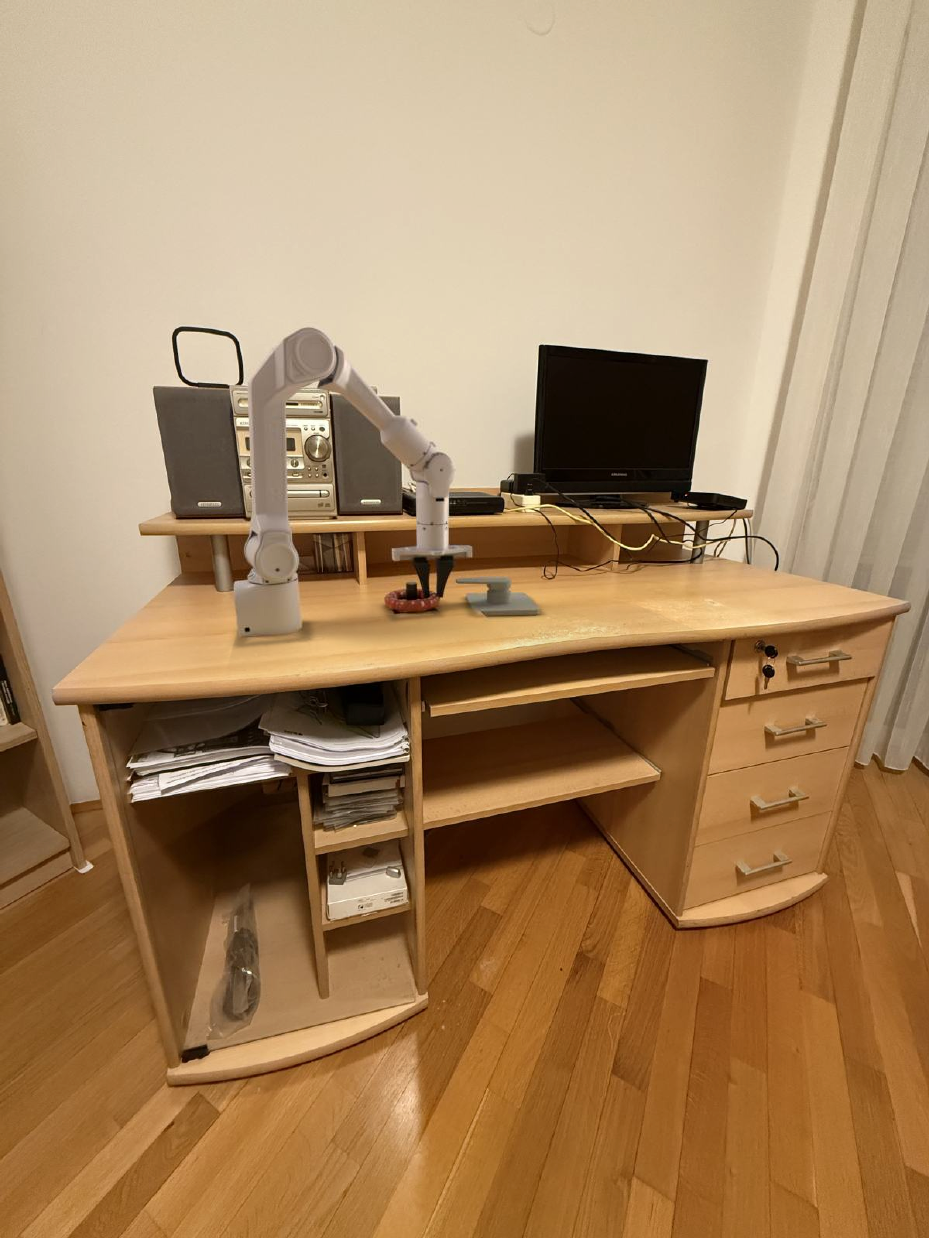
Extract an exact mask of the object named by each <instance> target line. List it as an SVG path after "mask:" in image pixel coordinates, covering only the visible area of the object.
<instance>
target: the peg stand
mask: <svg viewBox="0 0 929 1238" xmlns="http://www.w3.org/2000/svg"><path fill="white" fill-rule="evenodd" d="M405 589H406V600H422V599H417V589H418V582H415V581H408V582H406V583H405ZM391 611H392V613H393V614H394V615H400V614H414V613H426V612H437V611H439V609H438V608H437V606H436V607H435V608H432V609H428V610H425V611H416V612H406V611H397V610H394V609H391Z"/></svg>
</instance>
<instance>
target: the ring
mask: <svg viewBox="0 0 929 1238" xmlns="http://www.w3.org/2000/svg"><path fill="white" fill-rule="evenodd" d="M417 599H422V600H406V588H401V589H396V590H393V591H390V592H389V593H387V594H386V595H385V596H384V599H383V602H384V604H385V605H386V607H387V608H388V609H391V610H392V609H394V610H397V611H406V612H414V613H417V612H416V611H425V610H428V609H432V608H435V607H436V608H437V606H438V605H439V604H440V602H441V598H440V597H439V595H437V593H436V591H435V590H430V596H429V598H426V599H425V598H424V597H423V592H422V588H417Z"/></svg>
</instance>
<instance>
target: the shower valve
mask: <svg viewBox="0 0 929 1238" xmlns="http://www.w3.org/2000/svg"><path fill="white" fill-rule="evenodd" d="M455 583H456V584H458V585H486V588H488V589H487V591H486V592H468V593H466V594H465V601H467V602H468V603H469V604H470V606H471V608H472V610H473V611H475V612H480V613H481V614H482V615H484V616H485V617H496V616H532V615H533V616H535V615H539V614H540V607H539V606H538V605H537V604H536V602H534V601H533V600H532V598H531V597H530V596H529V595H528V594H527V593H526V592H523V591H522V592H521V591H520V592H519V591H518V592H517V591H515V592H514V591H513V592H511V590H510V589H511V588H512V579H511V578H510V577H506V576H477V577H456V578H455Z"/></svg>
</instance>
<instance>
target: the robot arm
mask: <svg viewBox="0 0 929 1238" xmlns="http://www.w3.org/2000/svg"><path fill="white" fill-rule="evenodd" d="M316 382H318V384H317V387H316V389H317V390H322V391H327V392H332V393H336V394H339V395H341V396H342V397H343V398H344V399H346V401H348V402H349V403H350V404H351V405H352V406H353V407H354V408H355V409H356V410H357V411H358V412H360V413H361V415H363V416H364V417H365V418H366V419H367V420H368V421H369V422H370V423H371V424H372V425H374V426H375V428H377V429H378V430H379V433H380V441H381V444H382V445H383V446H385V448H386V449H387V450H388V451H389V452H390V453H391V454H392V455H393V456H394V457H396V458H397V460H398V461H399V462H400V463H402V465H404V467H405V468H406V469H407V470H408V472H409V476H410V479H411V480H412V481H413V482H415V511H416V512H415V513H416V514H415V515H416V516H415V517H416V518H415V519H416V520H415V521H416V524H415V525H416V545H414V546H405V547H394V548H391V559H392V561H394V562H400V561H407V560H410V562H411V564H412V566H413V568H414V570H415V572H416V574H417V578H418V580H419V583H420V587H421V589H422V592H423V597H424V598H425V599H426V598H429V596H430V591H431V590H430V572H431V564H430V563H429V559H430V560H431V559H434V560H435V573H436V584H435V585H436V587H435V590H436V591H435V593H436V594H437V595H439V597H440V599H442V598H444V594H445V589H446V586H447V582H448V579H449V577H450V575H451V573H452V572H453V569H454V568H455V566H456V560H455V559H454V558H473V546H471V545H465V544H464V545H462V544H459V545H457V544H453V545H452V544H451V545H450V544H449V543H450V542H449V541H450V540H449V539H450V537H449V527H450V526H449V525H450V523H449V522H450V521H449V520H450V514H449V513H450V511H449V510H450V487H451V484H452V483H453V482H454V479H455V477H456V473H457V469H455V468H454V465H453V461H452V459H451V458H450V456H448V455H447V454H446V453H444V452H441V451H437V444H436V443H435V442H434V441H430V440H429V439H428V438H427V437H426V436H425V435H424V434H423V433H422V431H420V429H418V427H417V426H418V425H419V424H418V422H417V420H415V419H414V418H409V417H407V416H406V415H396V414H394V412H393V411H392V410H391V409H390V408H389V407H388V406H387V404H386V403H385V402H384V401H383V400H382V398H381V397H380V395H379V394H378V393H377V392H376V391H375V390H374V389H373V388H372V386H370V384H369V383H368V382H367V380H366V379H365V378H364V377H363V376H362V375H361V374H360V373H359V371H358V370H357V369H356V368H355V367H354V366H353V364H352V363H351V361H350V360H349V358H348V356H347V355H346V353H345V352H344V351H343V350H342V349H341V348H339V346H337V345H334V344H333V342H332V340H331V339H330V338H329V337H328V335H327V334H325V332H323V331H321V330H320V329H318V328H315V327H311V326H310V327H309V326H307V327H301V328H299V329H297V330H296V331H294V332H292V333H290V334H289V335H287V336H286V337H284V338H283V339H281V340H280V341H279V342H278V344H277V345H275V346H274V347H273V348H271V349H270V350H269V352H268V354H267V355H266V356H265V358H264V360H263V361H262V362H261V363H260V365H259V366H258V368H257V369H256V371H255V372H254V373H253V374H252V376H251V377H250V379H249V381H248V384H247V408H248V410H247V411H248V412H247V413H248V434H249V437H248V439H249V458H250V459H249V460H250V462H249V463H250V464H249V465H250V484H251V485H250V489H251V512H252V513H251V518H250V521H249V535H248V538H247V540H246V542H245V543H244V547H243V554H244V558H245V560H246V562H247V563H248V564H249V565H250V566H251V567H252V568H251V569H250V572H249V573H248V574H247V579H245V580H236V581H234V582H233V600H234V601H233V602H234V608H235V617H236V619H235V621H236V627H237V629H238V630H237V631H238V637H239V638H245V637H246V638H247V637H257V636H282V635H288V634H292V633H295V632H297V631H299V630H300V629H301V628H302V627H303V618H302V607H301V596H300V586H299V577H298V576H299V574H298V572H297V570H298V568H299V564H300V556H299V553H298V551H297V549H296V548H295V545H294V543H293V533H292V532H293V531H292V527H291V524H290V519H289V511H288V509H289V508H288V507H289V505H288V461H287V460H288V455H287V454H288V453H287V408H286V407H287V406H286V404H287V402H288V401H289V400H290V399H291V398H293V397H294V396H295V395H297V393H299V392H300V391H301V390H302V389H303V388H305V387H308V386H311V385H312V384H313V383H316ZM246 628H249V630H246Z"/></svg>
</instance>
